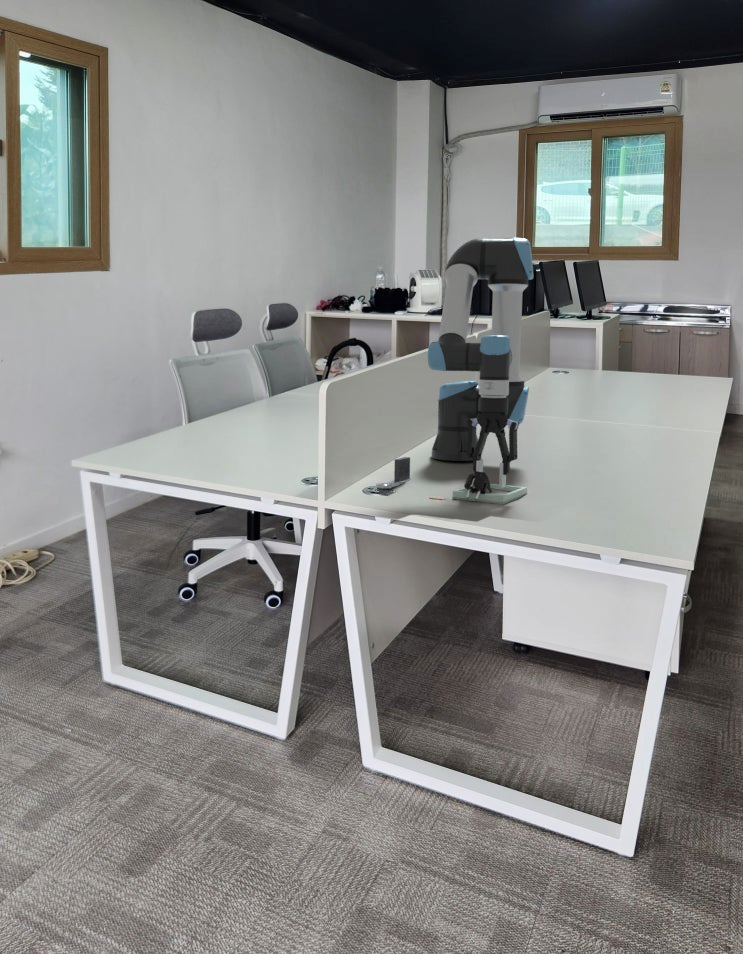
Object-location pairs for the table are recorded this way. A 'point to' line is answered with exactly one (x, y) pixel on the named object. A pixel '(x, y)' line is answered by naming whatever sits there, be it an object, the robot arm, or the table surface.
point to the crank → (398, 474)
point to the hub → (384, 491)
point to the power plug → (477, 484)
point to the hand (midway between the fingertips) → (490, 485)
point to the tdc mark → (437, 498)
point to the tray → (492, 494)
